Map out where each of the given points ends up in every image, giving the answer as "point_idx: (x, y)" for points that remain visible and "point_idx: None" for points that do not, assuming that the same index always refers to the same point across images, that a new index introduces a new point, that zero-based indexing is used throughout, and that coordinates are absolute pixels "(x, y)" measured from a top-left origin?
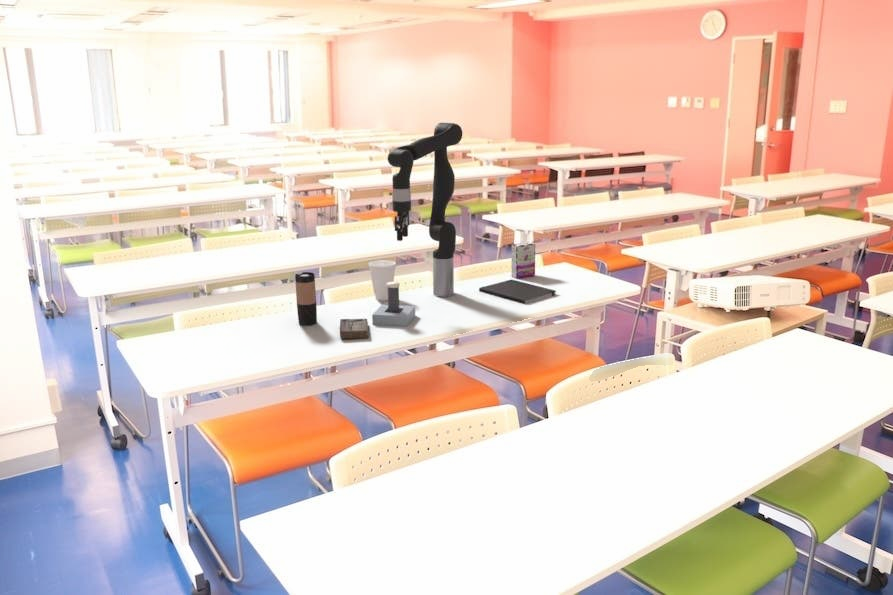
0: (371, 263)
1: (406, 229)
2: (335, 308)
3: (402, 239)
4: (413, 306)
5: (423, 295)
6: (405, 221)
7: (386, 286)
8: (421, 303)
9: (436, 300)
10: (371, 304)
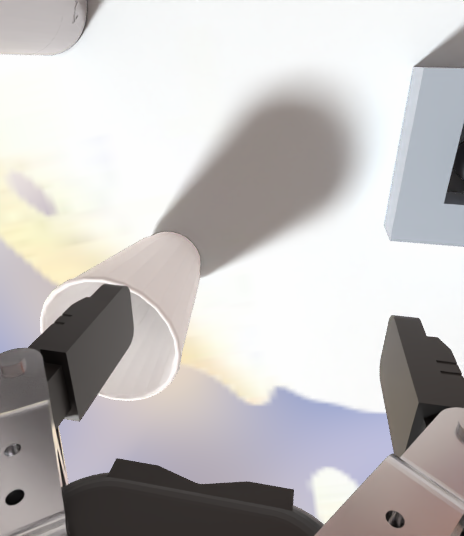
0: (104, 388)
1: (80, 349)
2: (321, 390)
3: (407, 319)
4: (429, 75)
5: (89, 100)
6: (118, 502)
7: (185, 266)
8: (211, 81)
9: (148, 12)
10: (258, 288)
